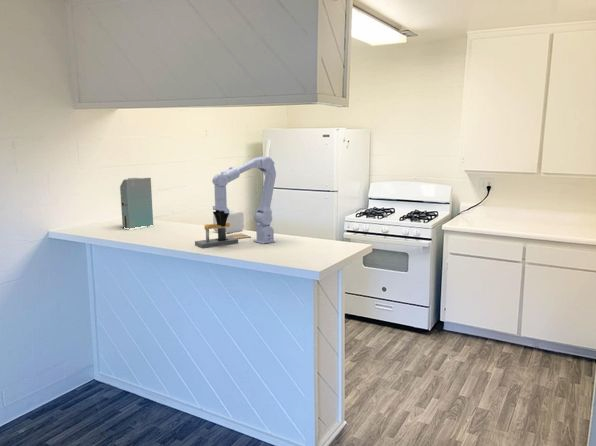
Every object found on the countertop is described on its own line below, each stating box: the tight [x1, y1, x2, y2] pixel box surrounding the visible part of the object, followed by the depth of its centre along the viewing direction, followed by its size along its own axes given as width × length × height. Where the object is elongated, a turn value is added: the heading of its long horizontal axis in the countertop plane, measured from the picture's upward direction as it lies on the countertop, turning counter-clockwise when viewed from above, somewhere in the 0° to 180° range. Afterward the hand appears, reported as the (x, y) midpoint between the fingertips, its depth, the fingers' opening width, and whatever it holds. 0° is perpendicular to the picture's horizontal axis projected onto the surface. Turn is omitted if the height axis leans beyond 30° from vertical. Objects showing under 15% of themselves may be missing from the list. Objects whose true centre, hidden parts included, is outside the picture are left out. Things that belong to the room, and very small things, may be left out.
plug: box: [217, 228, 227, 241], centre depth 252 cm, size 4×4×8 cm
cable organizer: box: [212, 209, 245, 234], centre depth 284 cm, size 15×11×12 cm
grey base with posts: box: [194, 229, 239, 249], centre depth 250 cm, size 9×20×8 cm, turn 125°
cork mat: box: [226, 233, 252, 240], centre depth 268 cm, size 11×11×1 cm
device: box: [119, 177, 154, 229], centre depth 296 cm, size 16×8×30 cm, turn 141°
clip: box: [204, 222, 230, 230], centre depth 249 cm, size 13×3×2 cm, turn 124°
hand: (221, 225), depth 244 cm, fingers open, 3 cm apart
